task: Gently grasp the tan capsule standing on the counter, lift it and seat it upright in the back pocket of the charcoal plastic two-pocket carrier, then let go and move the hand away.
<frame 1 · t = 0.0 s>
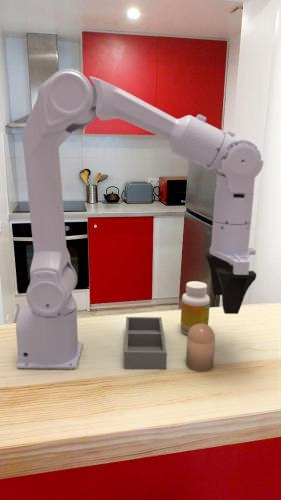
hand: (224, 303, 59), 10 cm above the counter, fingers open, 7 cm apart
tan capsule: (199, 364, 60), on the counter
supplement bottle: (193, 331, 71), on the counter
carrier: (144, 348, 64), on the counter
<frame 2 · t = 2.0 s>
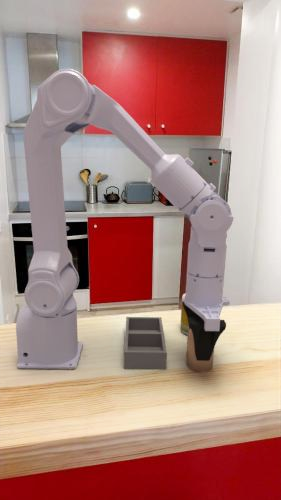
hand: (200, 351, 59), 2 cm above the counter, fingers closed on tan capsule, 4 cm apart
tan capsule: (199, 364, 60), on the counter, touching gripper
everything else where it was.
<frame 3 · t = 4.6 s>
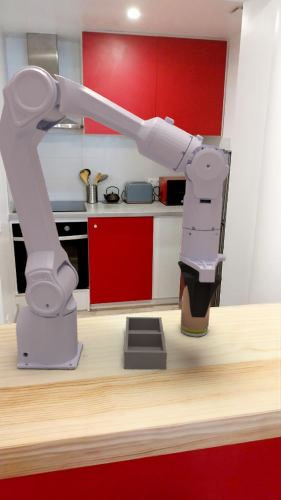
hand: (195, 309, 58), 9 cm above the counter, fingers closed on tan capsule, 4 cm apart
tan capsule: (194, 323, 59), point 7 cm above the counter, touching gripper
everything else where it was.
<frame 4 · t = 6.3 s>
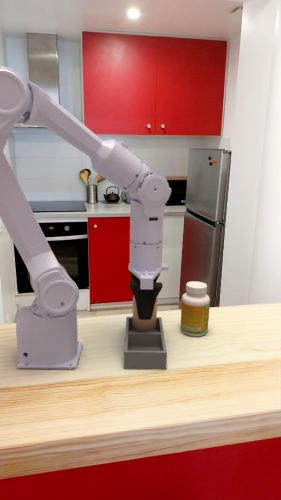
hand: (144, 312, 66), 5 cm above the counter, fingers closed on tan capsule, 4 cm apart
tan capsule: (144, 325, 67), point 3 cm above the counter, touching gripper
everything else where it was.
when the fingers open (4 cm above the counter, at t = 7.4 s): tan capsule drops 1 cm, resting on carrier.
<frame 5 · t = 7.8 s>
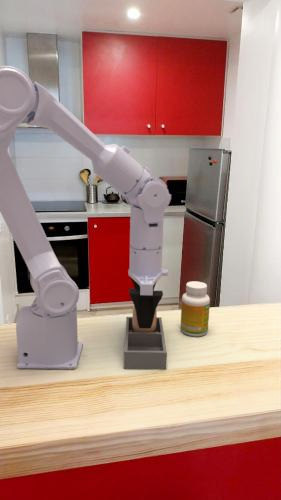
hand: (144, 317, 66), 4 cm above the counter, fingers open, 7 cm apart
tan capsule: (144, 337, 67), point 1 cm above the counter, touching carrier
everything else where it was.
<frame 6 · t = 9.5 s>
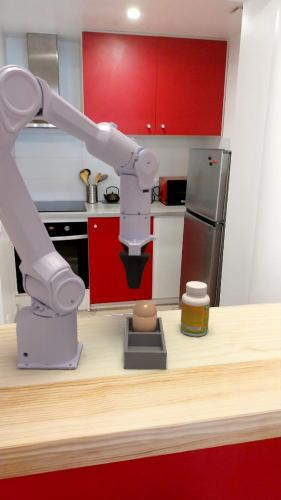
hand: (134, 281, 71), 9 cm above the counter, fingers open, 7 cm apart
nothing on the counter moved.
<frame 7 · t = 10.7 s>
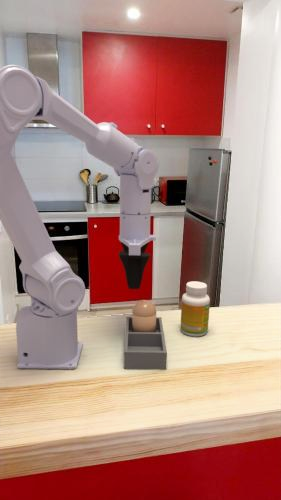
hand: (134, 281, 71), 9 cm above the counter, fingers open, 7 cm apart
nothing on the counter moved.
at the end: tan capsule 0.0 cm from the target spot on the carrier, point 0.5 cm above the carrier's base; tan capsule tilted 1°; the gripper is holding nothing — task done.
